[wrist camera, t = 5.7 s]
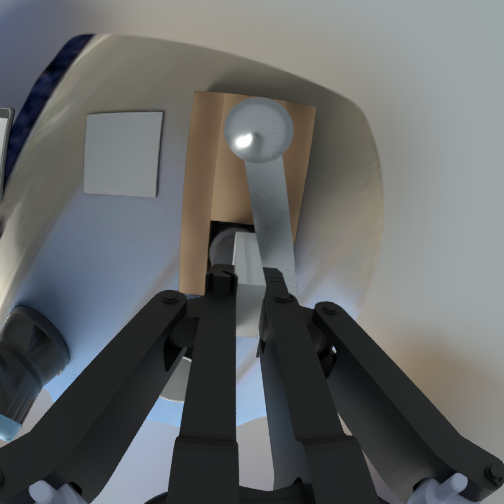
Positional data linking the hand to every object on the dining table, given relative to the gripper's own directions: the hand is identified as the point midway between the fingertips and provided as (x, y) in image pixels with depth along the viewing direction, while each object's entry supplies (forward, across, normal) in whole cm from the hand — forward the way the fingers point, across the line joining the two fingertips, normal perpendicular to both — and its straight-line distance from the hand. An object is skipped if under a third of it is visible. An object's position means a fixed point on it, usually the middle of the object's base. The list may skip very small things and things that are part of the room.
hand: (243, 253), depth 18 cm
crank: (+2, +2, +1) cm, 2 cm away
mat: (+16, -15, +5) cm, 22 cm away
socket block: (+16, 0, 0) cm, 16 cm away
